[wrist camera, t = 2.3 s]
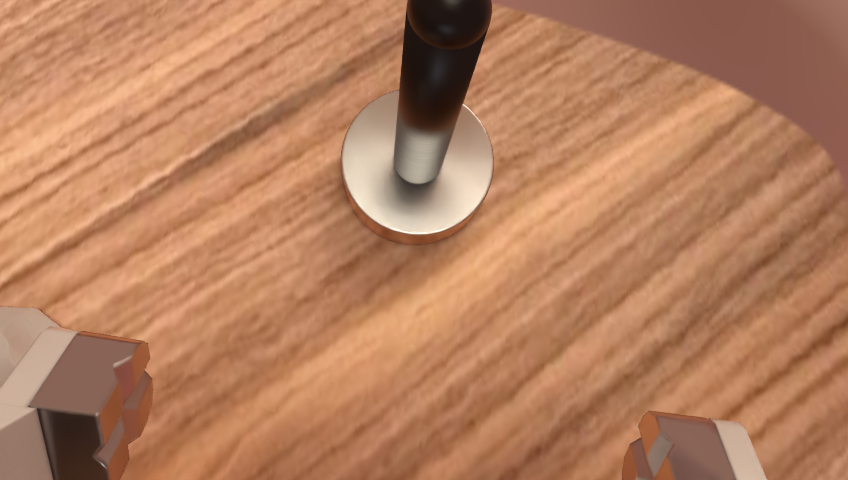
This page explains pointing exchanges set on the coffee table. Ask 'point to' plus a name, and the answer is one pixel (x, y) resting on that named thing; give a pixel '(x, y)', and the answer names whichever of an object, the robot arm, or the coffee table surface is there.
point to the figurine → (18, 335)
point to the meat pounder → (424, 132)
